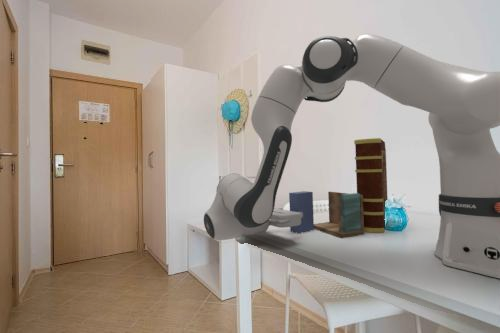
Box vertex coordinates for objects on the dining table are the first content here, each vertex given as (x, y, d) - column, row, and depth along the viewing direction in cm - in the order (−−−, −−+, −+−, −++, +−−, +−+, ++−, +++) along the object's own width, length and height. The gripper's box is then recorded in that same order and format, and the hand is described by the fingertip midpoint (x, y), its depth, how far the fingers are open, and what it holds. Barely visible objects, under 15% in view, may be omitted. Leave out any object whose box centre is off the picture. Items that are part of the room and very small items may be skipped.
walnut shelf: (364, 234, 81) (362, 193, 81) (341, 238, 78) (340, 195, 78) (331, 224, 95) (330, 190, 95) (311, 227, 92) (310, 191, 92)
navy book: (313, 230, 89) (312, 191, 89) (298, 233, 85) (297, 193, 85) (305, 227, 92) (304, 191, 92) (290, 231, 88) (289, 192, 88)
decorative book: (383, 234, 81) (380, 137, 81) (356, 231, 85) (353, 139, 85) (388, 220, 100) (386, 142, 100) (366, 218, 104) (363, 143, 104)
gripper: (278, 211, 69) (314, 206, 77) (239, 204, 86) (271, 200, 94) (279, 235, 69) (315, 227, 77) (239, 223, 86) (272, 217, 94)
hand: (291, 212), depth 86 cm, fingers open, 8 cm apart
